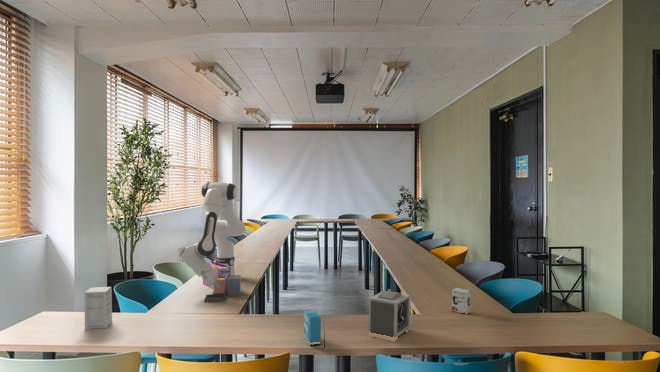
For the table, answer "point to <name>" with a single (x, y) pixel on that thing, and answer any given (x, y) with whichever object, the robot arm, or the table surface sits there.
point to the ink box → (461, 300)
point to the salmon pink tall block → (222, 287)
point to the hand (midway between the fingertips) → (220, 285)
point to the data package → (312, 326)
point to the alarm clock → (389, 313)
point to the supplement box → (98, 307)
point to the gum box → (219, 272)
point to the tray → (215, 298)
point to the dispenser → (233, 285)
